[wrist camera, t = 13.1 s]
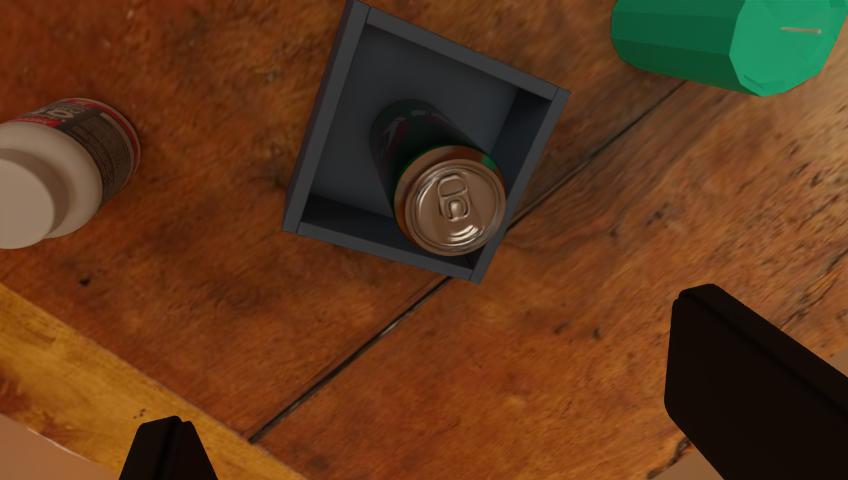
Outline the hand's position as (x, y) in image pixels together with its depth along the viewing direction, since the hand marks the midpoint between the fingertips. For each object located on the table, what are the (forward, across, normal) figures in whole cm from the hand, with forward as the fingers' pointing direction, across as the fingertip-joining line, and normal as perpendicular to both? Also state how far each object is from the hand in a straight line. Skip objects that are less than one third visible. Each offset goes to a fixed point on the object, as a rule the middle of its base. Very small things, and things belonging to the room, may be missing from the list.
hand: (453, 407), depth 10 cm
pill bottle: (+25, +14, -2) cm, 29 cm away
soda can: (+24, -3, +2) cm, 25 cm away
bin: (+25, -4, +1) cm, 25 cm away
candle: (+25, -20, -3) cm, 32 cm away
